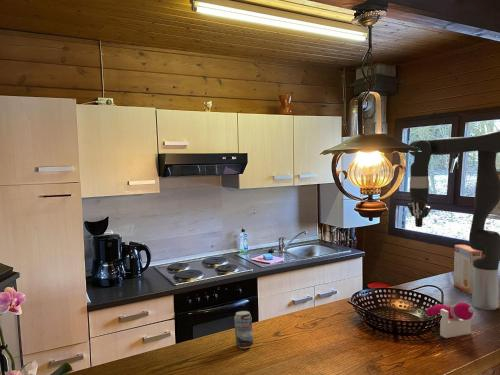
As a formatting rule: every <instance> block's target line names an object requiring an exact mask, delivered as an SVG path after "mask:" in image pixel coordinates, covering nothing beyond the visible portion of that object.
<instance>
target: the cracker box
mask: <svg viewBox="0 0 500 375" xmlns="http://www.w3.org/2000/svg"><path fill="white" fill-rule="evenodd" d="M453 256H454V259H453V260H454V263H453V265H454V267H453V286H455V287H456V288H458V289H460V290H461V291H463V292H464V293H466V294H467V295H472V291H473V261H474V259H477V258H483V251H479V250H474V249H472V248H471V247H470V245H467V244H454V255H453Z"/></svg>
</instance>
